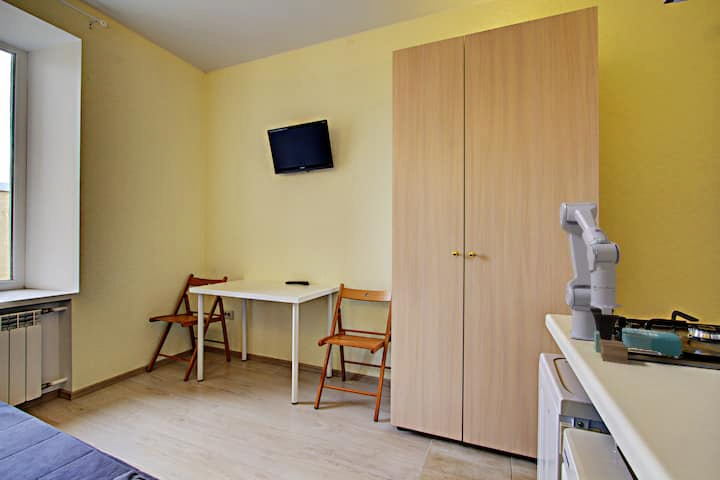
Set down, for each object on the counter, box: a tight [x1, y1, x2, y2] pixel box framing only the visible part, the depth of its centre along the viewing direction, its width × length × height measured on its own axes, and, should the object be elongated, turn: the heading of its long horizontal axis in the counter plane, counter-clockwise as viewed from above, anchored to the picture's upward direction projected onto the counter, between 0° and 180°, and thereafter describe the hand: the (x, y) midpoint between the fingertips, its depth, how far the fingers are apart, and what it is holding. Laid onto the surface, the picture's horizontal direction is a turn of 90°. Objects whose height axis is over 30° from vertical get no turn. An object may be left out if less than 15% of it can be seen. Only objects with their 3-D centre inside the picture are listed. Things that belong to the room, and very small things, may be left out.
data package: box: [621, 327, 683, 356], centre depth 97 cm, size 12×4×12 cm
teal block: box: [593, 331, 615, 354], centre depth 96 cm, size 4×4×5 cm
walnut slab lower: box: [600, 351, 629, 365], centre depth 89 cm, size 5×5×2 cm
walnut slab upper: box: [599, 340, 629, 357], centre depth 89 cm, size 5×5×2 cm
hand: (603, 337), depth 96 cm, fingers open, 7 cm apart
